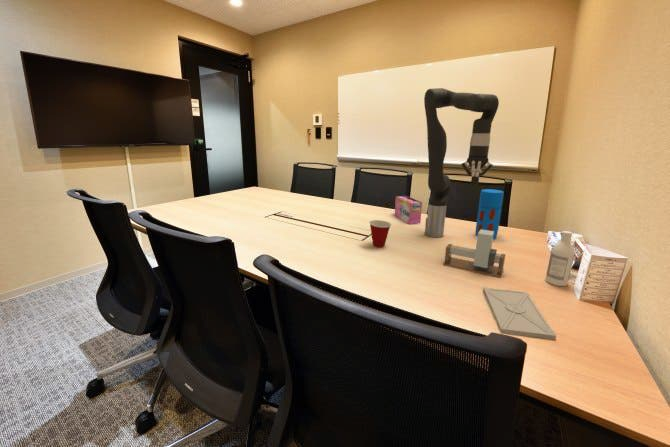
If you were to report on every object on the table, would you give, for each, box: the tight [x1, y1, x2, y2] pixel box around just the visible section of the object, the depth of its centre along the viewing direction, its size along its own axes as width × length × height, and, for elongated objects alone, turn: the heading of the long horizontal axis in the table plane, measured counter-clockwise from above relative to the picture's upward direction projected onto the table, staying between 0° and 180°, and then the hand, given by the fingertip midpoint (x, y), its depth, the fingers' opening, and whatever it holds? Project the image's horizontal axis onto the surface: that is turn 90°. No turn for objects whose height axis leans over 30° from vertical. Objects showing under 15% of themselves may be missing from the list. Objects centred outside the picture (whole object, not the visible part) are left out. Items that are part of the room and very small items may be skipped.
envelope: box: [482, 287, 557, 341], centre depth 98 cm, size 24×2×14 cm
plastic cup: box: [368, 219, 392, 248], centre depth 154 cm, size 11×11×12 cm
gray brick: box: [488, 248, 498, 266], centre depth 125 cm, size 2×5×5 cm, turn 147°
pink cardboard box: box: [394, 194, 423, 225], centre depth 201 cm, size 24×8×14 cm, turn 14°
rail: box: [442, 243, 506, 279], centre depth 129 cm, size 22×9×8 cm, turn 57°
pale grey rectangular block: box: [473, 229, 494, 268], centre depth 126 cm, size 5×6×14 cm
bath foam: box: [545, 230, 575, 287], centre depth 115 cm, size 7×7×20 cm
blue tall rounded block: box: [474, 188, 505, 240], centre depth 165 cm, size 11×11×25 cm
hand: (474, 185), depth 137 cm, fingers closed
